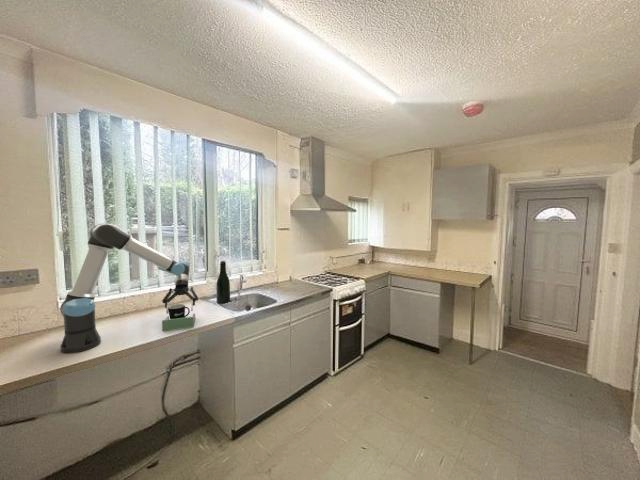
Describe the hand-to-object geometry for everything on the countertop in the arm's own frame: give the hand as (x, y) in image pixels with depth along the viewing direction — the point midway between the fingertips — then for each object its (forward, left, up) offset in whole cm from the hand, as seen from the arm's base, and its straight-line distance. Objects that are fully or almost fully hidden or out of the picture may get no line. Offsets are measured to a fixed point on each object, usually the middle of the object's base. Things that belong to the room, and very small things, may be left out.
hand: (179, 311), depth 162 cm
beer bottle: (+27, +41, -8) cm, 49 cm away
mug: (0, +2, -7) cm, 7 cm away
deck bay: (0, 0, -8) cm, 8 cm away
